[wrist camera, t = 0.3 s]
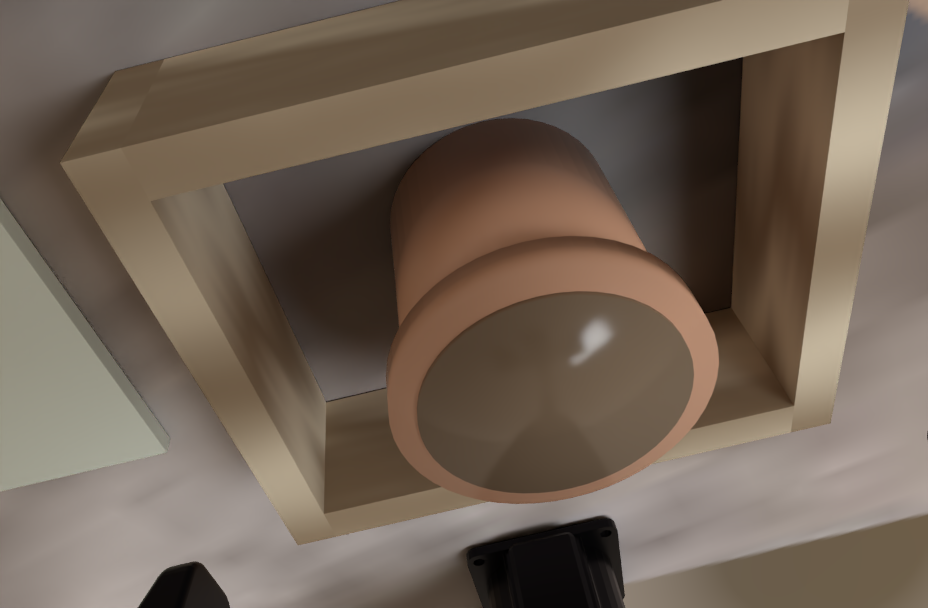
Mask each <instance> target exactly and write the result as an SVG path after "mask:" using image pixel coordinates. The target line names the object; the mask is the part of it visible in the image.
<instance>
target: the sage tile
mask: <svg viewBox="0 0 928 608" xmlns="http://www.w3.org/2000/svg"><path fill="white" fill-rule="evenodd" d="M169 442H170V438H169V436H168V435H167V434H166V432H165V431H164V429H163V428H162V426H161V425H160V424H159V422H158V421H157V419H156V418H155V417H154V415H153V414H152V412H151V411H150V410H149V408H148V407H147V405H146V404H145V402H144V401H143V400H142V398H141V397H140V395H139V394H138V393H137V391H136V390H135V388H134V387H133V385H132V384H131V383H130V381H129V380H128V378H127V377H126V376H125V374H124V373H123V371H122V370H121V368H120V367H119V366H118V364H117V363H116V361H115V360H114V359H113V357H112V356H111V354H110V353H109V351H108V350H107V349H106V347H105V346H104V344H103V343H102V342H101V340H100V339H99V337H98V336H97V335H96V333H95V332H94V330H93V329H92V327H91V326H90V325H89V323H88V322H87V320H86V319H85V318H84V316H83V315H82V313H81V312H80V310H79V309H78V308H77V306H76V305H75V303H74V302H73V301H72V299H71V298H70V296H69V295H68V293H67V292H66V291H65V289H64V288H63V286H62V285H61V284H60V282H59V281H58V279H57V278H56V276H55V275H54V274H53V272H52V271H51V269H50V268H49V267H48V265H47V264H46V262H45V261H44V260H43V258H42V257H41V255H40V254H39V252H38V251H37V250H36V248H35V247H34V245H33V244H32V243H31V241H30V240H29V238H28V237H27V235H26V234H25V233H24V231H23V230H22V228H21V227H20V226H19V224H18V223H17V221H16V220H15V218H14V217H13V216H12V214H11V213H10V211H9V210H8V209H7V207H6V206H5V204H4V203H3V201H2V200H1V199H0V492H1V491H5V490H9V489H14V488H18V487H22V486H27V485H31V484H35V483H39V482H44V481H48V480H52V479H57V478H61V477H65V476H69V475H74V474H78V473H82V472H86V471H91V470H95V469H99V468H104V467H108V466H112V465H116V464H121V463H125V462H129V461H134V460H138V459H142V458H146V457H151V456H155V455H159V454H163V453H167V451H168V447H169Z"/></svg>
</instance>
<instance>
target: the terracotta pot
mask: <svg viewBox="0 0 928 608" xmlns="http://www.w3.org/2000/svg"><path fill="white" fill-rule="evenodd" d="M390 231H391V243H392V253H393V264H394V275H395V286H396V297H397V307H398V318H399V329H398V331H397V333H396V335H395V337H394V340H393V342H392V344H391V348H390V352H389V355H388V359H387V368H386V386H387V401H388V414H389V425H390V428H391V431H392V435H393V438H394V440H395V442H396V444H397V446H398V448H399V450H400V452H401V453H402V454H403V456H404V457H405V458H406V460H407V461H408V462H409V464H411V465H412V466H413V467H414V468H415V469H416V470H417V471H418V472H419V473H420V474H422V475H423V476H424V477H426V478H427V479H429V480H430V481H432V482H433V483H435V484H437V485H439V486H441V487H443V488H445V489H447V490H449V491H452V492H454V493H457V494H460V495H463V496H466V497H470V498H474V499H478V500H483V501H490V502H497V503H512V504H526V503H542V502H551V501H557V500H563V499H568V498H573V497H577V496H580V495H584V494H588V493H591V492H594V491H597V490H600V489H603V488H605V487H608V486H611V485H613V484H615V483H617V482H620V481H622V480H624V479H626V478H628V477H630V476H632V475H634V474H636V473H637V472H639V471H641V470H643V469H644V468H646V467H647V466H649V465H650V464H652V463H653V462H655V461H656V460H658V459H659V458H661V457H662V456H663V455H664V454H666V453H667V452H668V451H669V450H671V449H672V448H673V447H674V446H675V445H676V444H677V443H678V442H679V441H680V440H681V439H682V438H683V437H684V436H685V435H686V434H687V433H688V432H689V431H690V429H691V428H692V427H693V426H694V425H695V423H696V422H697V421H698V419H699V417H700V416H701V414H702V413H703V411H704V410H705V408H706V406H707V404H708V402H709V400H710V398H711V396H712V393H713V390H714V387H715V383H716V380H717V375H718V367H719V355H718V346H717V342H716V338H715V334H714V331H713V329H712V327H711V325H710V323H709V321H708V319H707V317H706V316H705V314H704V312H703V311H702V309H701V307H700V306H699V304H698V302H697V300H696V299H695V297H694V295H693V294H692V292H691V290H690V289H689V287H688V286H687V285H686V283H685V282H684V281H683V279H682V278H681V277H680V276H679V275H678V274H677V273H676V272H675V271H674V270H673V269H672V268H671V267H670V266H669V265H668V264H666V263H665V262H663V261H662V260H660V259H659V258H657V257H656V256H654V255H652V254H650V253H648V252H647V251H646V249H645V247H644V245H643V244H642V242H641V240H640V238H639V236H638V235H637V233H636V231H635V229H634V227H633V226H632V224H631V222H630V220H629V218H628V217H627V215H626V213H625V211H624V209H623V208H622V206H621V204H620V202H619V200H618V198H617V197H616V195H615V193H614V191H613V189H612V188H611V186H610V184H609V182H608V180H607V179H606V177H605V175H604V173H603V171H602V170H601V168H600V166H599V164H598V162H597V161H596V159H595V158H594V157H593V155H592V154H591V153H590V151H589V150H588V149H587V148H586V147H585V146H584V145H583V144H582V143H581V142H580V141H578V140H577V139H576V138H574V137H573V136H571V135H570V134H569V133H567V132H565V131H563V130H561V129H559V128H557V127H554V126H551V125H549V124H546V123H543V122H538V121H533V120H528V119H515V118H508V119H494V120H489V121H483V122H479V123H476V124H473V125H469V126H466V127H464V128H461V129H459V130H457V131H455V132H452V133H450V134H449V135H447V136H445V137H444V138H442V139H440V140H439V141H437V142H436V143H434V144H433V145H432V146H431V147H429V148H428V149H427V150H425V151H424V152H423V153H422V154H421V155H420V156H419V157H418V158H417V159H416V160H415V162H414V163H413V164H412V165H411V167H410V168H409V169H408V171H407V172H406V173H405V175H404V177H403V179H402V180H401V182H400V184H399V186H398V189H397V191H396V194H395V196H394V199H393V204H392V208H391V215H390Z"/></svg>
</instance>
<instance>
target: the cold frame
mask: <svg viewBox="0 0 928 608" xmlns="http://www.w3.org/2000/svg"><path fill="white" fill-rule="evenodd" d="M908 4H909V0H401V1H397V2H393V3H389V4H385V5H381V6H376V7H372V8H368V9H364V10H360V11H356V12H352V13H348V14H344V15H340V16H336V17H332V18H328V19H324V20H320V21H316V22H312V23H308V24H304V25H300V26H296V27H292V28H288V29H284V30H280V31H276V32H272V33H268V34H264V35H260V36H256V37H252V38H248V39H244V40H240V41H236V42H232V43H227V44H223V45H219V46H215V47H211V48H207V49H203V50H199V51H195V52H191V53H187V54H183V55H179V56H175V57H171V58H167V59H163V60H159V61H155V62H151V63H147V64H143V65H139V66H135V67H131V68H127V69H123V70H119V71H115V73H114V74H113V76H112V78H111V79H110V81H109V83H108V84H107V86H106V88H105V89H104V91H103V93H102V94H101V96H100V97H99V99H98V101H97V102H96V104H95V106H94V107H93V109H92V111H91V112H90V114H89V116H88V117H87V119H86V121H85V122H84V124H83V125H82V127H81V129H80V130H79V132H78V134H77V135H76V137H75V139H74V140H73V142H72V144H71V145H70V147H69V149H68V150H67V152H66V154H65V155H64V157H63V158H62V160H61V162H60V164H61V166H62V167H63V169H64V171H65V172H66V174H67V175H68V177H69V179H70V180H71V182H72V183H73V185H74V187H75V188H76V190H77V191H78V193H79V195H80V196H81V198H82V200H83V201H84V203H85V204H86V206H87V208H88V209H89V211H90V212H91V214H92V216H93V217H94V219H95V220H96V222H97V224H98V225H99V227H100V228H101V230H102V232H103V233H104V235H105V236H106V238H107V240H108V241H109V243H110V244H111V246H112V248H113V249H114V251H115V252H116V254H117V256H118V257H119V259H120V260H121V262H122V264H123V265H124V267H125V269H126V270H127V272H128V273H129V275H130V277H131V278H132V280H133V281H134V283H135V285H136V286H137V288H138V289H139V291H140V293H141V294H142V296H143V297H144V299H145V301H146V302H147V304H148V305H149V307H150V309H151V310H152V312H153V313H154V315H155V317H156V318H157V320H158V321H159V323H160V325H161V326H162V328H163V329H164V331H165V333H166V334H167V336H168V338H169V339H170V341H171V342H172V344H173V346H174V347H175V349H176V350H177V352H178V354H179V355H180V357H181V358H182V360H183V362H184V363H185V365H186V366H187V368H188V370H189V371H190V373H191V374H192V376H193V378H194V379H195V381H196V382H197V384H198V386H199V387H200V389H201V390H202V392H203V394H204V395H205V397H206V398H207V400H208V402H209V403H210V405H211V407H212V408H213V410H214V411H215V413H216V415H217V416H218V418H219V419H220V421H221V423H222V424H223V426H224V427H225V429H226V431H227V432H228V434H229V435H230V437H231V439H232V440H233V442H234V443H235V445H236V447H237V448H238V450H239V451H240V453H241V455H242V456H243V458H244V459H245V461H246V463H247V464H248V466H249V467H250V469H251V471H252V472H253V474H254V475H255V477H256V479H257V480H258V482H259V484H260V485H261V487H262V488H263V490H264V492H265V493H266V495H267V496H268V498H269V500H270V501H271V503H272V504H273V506H274V508H275V509H276V511H277V512H278V514H279V516H280V517H281V519H282V520H283V522H284V524H285V525H286V527H287V528H288V530H289V532H290V533H291V535H292V536H293V538H294V540H295V541H296V543H297V544H298V545H301V544H306V543H310V542H315V541H319V540H323V539H328V538H332V537H336V536H341V535H345V534H349V533H354V532H358V531H363V530H367V529H371V528H376V527H380V526H384V525H389V524H393V523H397V522H402V521H406V520H411V519H415V518H419V517H424V516H428V515H432V514H437V513H441V512H445V511H450V510H454V509H459V508H463V507H467V506H472V505H476V504H480V503H485V502H489V501H483V500H478V499H474V498H470V497H466V496H463V495H460V494H457V493H454V492H452V491H449V490H447V489H445V488H443V487H441V486H439V485H437V484H435V483H433V482H432V481H430V480H429V479H427V478H426V477H424V476H423V475H422V474H420V473H419V472H418V471H417V470H416V469H415V468H414V467H413V466H412V465H411V464H409V462H408V461H407V460H406V458H405V457H404V456H403V454H402V453H401V452H400V450H399V448H398V446H397V444H396V442H395V440H394V438H393V435H392V431H391V428H390V425H389V414H388V401H387V388H386V389H381V390H377V391H373V392H369V393H364V394H360V395H356V396H352V397H347V398H343V399H339V400H335V401H330V402H326V401H325V399H324V397H323V395H322V392H321V390H320V388H319V386H318V384H317V382H316V380H315V378H314V375H313V373H312V371H311V369H310V367H309V365H308V363H307V361H306V359H305V356H304V354H303V352H302V350H301V348H300V346H299V344H298V342H297V339H296V337H295V335H294V333H293V331H292V329H291V327H290V325H289V322H288V320H287V318H286V316H285V314H284V312H283V310H282V308H281V305H280V303H279V301H278V299H277V297H276V295H275V293H274V291H273V289H272V286H271V284H270V282H269V280H268V278H267V276H266V274H265V272H264V269H263V267H262V265H261V263H260V261H259V259H258V257H257V255H256V252H255V250H254V248H253V246H252V244H251V242H250V240H249V238H248V235H247V233H246V231H245V229H244V227H243V225H242V223H241V221H240V219H239V216H238V214H237V212H236V210H235V208H234V206H233V204H232V202H231V199H230V197H229V195H228V193H227V191H226V189H225V187H224V185H223V183H227V182H231V181H235V180H239V179H243V178H247V177H251V176H255V175H260V174H264V173H268V172H272V171H276V170H280V169H284V168H288V167H292V166H297V165H301V164H305V163H309V162H313V161H317V160H321V159H325V158H329V157H334V156H338V155H342V154H346V153H350V152H354V151H358V150H362V149H366V148H371V147H375V146H379V145H383V144H387V143H391V142H395V141H399V140H403V139H408V138H412V137H416V136H420V135H424V134H428V133H432V132H436V131H440V130H445V129H449V128H453V127H457V126H461V125H465V124H469V123H473V122H477V121H482V120H486V119H490V118H494V117H498V116H502V115H506V114H510V113H514V112H519V111H523V110H527V109H531V108H535V107H539V106H543V105H547V104H551V103H556V102H560V101H564V100H568V99H572V98H576V97H580V96H584V95H589V94H593V93H597V92H601V91H605V90H609V89H613V88H617V87H621V86H626V85H630V84H634V83H638V82H642V81H646V80H650V79H654V78H658V77H663V76H667V75H671V74H675V73H679V72H683V71H687V70H691V69H695V68H700V67H704V66H708V65H712V64H716V63H720V62H724V61H728V60H732V59H737V58H741V57H743V70H742V91H741V113H740V134H739V155H738V176H737V197H736V219H735V240H734V261H733V282H732V303H731V308H727V309H723V310H719V311H715V312H710V313H706V314H705V316H706V317H707V319H708V321H709V323H710V325H711V327H712V329H713V331H714V334H715V338H716V342H717V346H718V355H719V367H718V375H717V380H716V383H715V387H714V390H713V393H712V396H711V398H710V400H709V402H708V404H707V406H706V408H705V410H704V411H703V413H702V414H701V416H700V417H699V419H698V421H697V422H696V423H695V425H694V426H693V427H692V428H691V429H690V431H689V432H688V433H687V434H686V435H685V436H684V437H683V438H682V439H681V440H680V441H679V442H678V443H677V444H676V445H675V446H674V447H673V448H672V449H671V450H669V451H668V452H667V453H666V454H664V455H663V456H662V457H661V458H659V459H658V460H656V461H655V462H653V463H652V464H655V463H659V462H664V461H668V460H672V459H677V458H681V457H685V456H690V455H694V454H698V453H703V452H707V451H712V450H716V449H720V448H725V447H729V446H733V445H738V444H742V443H746V442H751V441H755V440H760V439H764V438H768V437H773V436H777V435H781V434H786V433H790V432H794V431H799V430H803V429H808V428H812V427H816V426H821V425H825V424H829V423H831V417H832V412H833V407H834V401H835V396H836V391H837V385H838V380H839V374H840V369H841V364H842V358H843V353H844V348H845V342H846V337H847V332H848V326H849V321H850V315H851V310H852V305H853V299H854V294H855V289H856V283H857V278H858V273H859V267H860V262H861V256H862V251H863V246H864V240H865V235H866V230H867V224H868V219H869V213H870V208H871V203H872V197H873V192H874V187H875V181H876V176H877V171H878V165H879V160H880V154H881V149H882V144H883V138H884V133H885V128H886V122H887V117H888V111H889V106H890V101H891V95H892V90H893V85H894V79H895V74H896V69H897V63H898V58H899V52H900V47H901V42H902V36H903V31H904V26H905V20H906V15H907V9H908Z"/></svg>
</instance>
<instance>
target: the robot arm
mask: <svg viewBox="0 0 928 608" xmlns="http://www.w3.org/2000/svg"><path fill="white" fill-rule="evenodd" d="M927 438H928V433H927ZM466 557H467V564H468V567H469V570H470V573H471V576H472V578H473V581H474V584H475V587H476V589H477V592H478V595H479V598H480V600H481V603H482V606H483V608H625V605H624V602H623V598H624V596H625V594H624V585H623V576H622V567H621V559H620V550H619V541H618V532H617V528H616V525H615V523H614V521H613V520H612V519H607V518H606V519H600V520H596V521H591V522H587V523H582V524H578V525H574V526H569V527H565V528H560V529H556V530H552V531H547V532H543V533H538V534H534V535H530V536H525V537H521V538H517V539H512V540H508V541H503V542H499V543H495V544H490V545H486V546H481V547H477V548H474V549H471V550H470V551H468V552H467V554H466ZM138 608H230V605H229V602H228V599H227V596H226V595H225V593H224V592H223V590H222V589H221V588H220V586H219V585H218V584H217V582H216V581H215V580H214V578H213V577H212V576H211V574H210V573H209V572H208V570H207V569H206V568H205V567H204V565H203V564H201V563H199V562H189V563H185V564H181V565H177V566H172V567H169V568H167V569H166V570H164V571H163V572H162V573H161V574H160V575H159V577H158V578H157V580H156V581H155V583H154V584H153V586H152V587H151V589H150V590H149V592H148V593H147V595H146V596H145V598H144V599H143V601H142V602H141V604H140V605H139V607H138Z"/></svg>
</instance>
